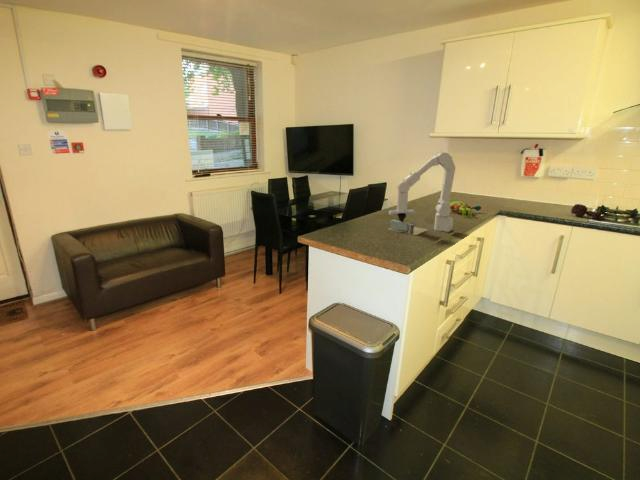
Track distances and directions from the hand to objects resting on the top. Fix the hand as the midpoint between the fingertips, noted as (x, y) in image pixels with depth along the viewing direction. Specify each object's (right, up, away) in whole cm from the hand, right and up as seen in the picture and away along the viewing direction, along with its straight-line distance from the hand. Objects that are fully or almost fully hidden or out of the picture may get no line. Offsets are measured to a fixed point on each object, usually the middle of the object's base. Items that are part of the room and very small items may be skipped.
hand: (400, 226), depth 195 cm
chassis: (+3, -3, -2) cm, 5 cm away
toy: (+53, +11, +45) cm, 70 cm away
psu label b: (+3, -3, -4) cm, 6 cm away
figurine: (+132, +6, +31) cm, 135 cm away
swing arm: (0, -2, -4) cm, 5 cm away
